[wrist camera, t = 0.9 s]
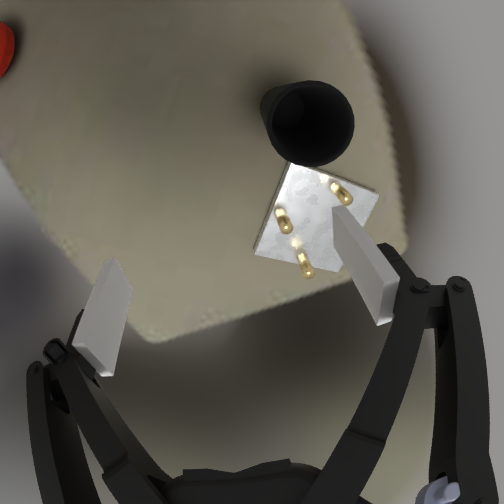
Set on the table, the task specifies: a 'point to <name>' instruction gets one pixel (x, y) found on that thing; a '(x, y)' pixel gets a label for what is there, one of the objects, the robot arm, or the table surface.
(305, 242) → the white board with pegs
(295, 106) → the cup
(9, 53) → the apple
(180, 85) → the table surface
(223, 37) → the table surface
